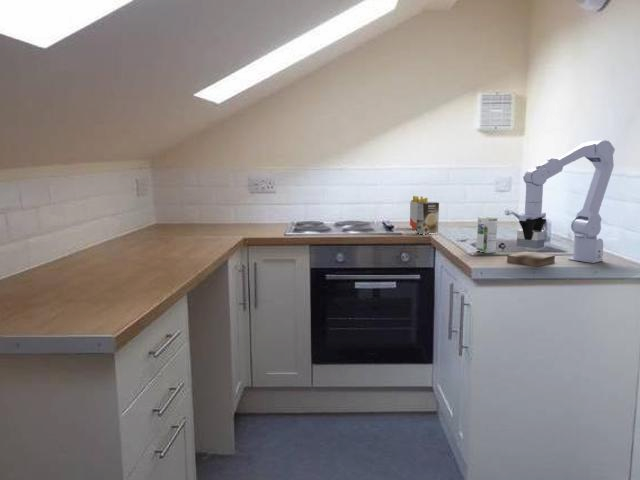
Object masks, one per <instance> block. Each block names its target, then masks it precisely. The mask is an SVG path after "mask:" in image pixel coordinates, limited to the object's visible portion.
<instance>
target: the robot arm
mask: <svg viewBox="0 0 640 480" xmlns="http://www.w3.org/2000/svg"><path fill="white" fill-rule="evenodd" d="M615 150H616V149H615V147H614V146H613V144H612V143H611V141H609V140H607V139H606V140H605V139H603V140H594V141H593V140H589V141H586V142H585V143H581V144H580V145H578V146H577V147H575V148H573V149H572V150H570V151H569V152H567V153H565V154H563V155H562V156H561V157H559V158H557V157H548V158H547V159H546V161H545V162H543V163H541V164H537V165H536V166H535V168H530V169H527V170H526V172H525V173H524V175H523V177H522V178H523V181H524V184H525V198H524V199H525V200H524V201H525V202H524V212H522V213H521V214H520V215H519V220H518V223H519V225H520V226H521V229H522V230H523V234H524V239H525V240H531V237H532V231H533V230H540V231H543V227H544V225H545V224H546V222H547V219H546V218H547V217H546V214H547V212H543V193H544V184H545V183H546V182H547V180H548V179H550V178H552V177H554V176H556V175H557V174H559V173H561V172H562V171H563V169H564V167H566V166H567V165H569V164H571V163H573V162H576V161H577V160H579V159H582V158H585V159H587V160H588V161H589V162H590V163H592V165H593V167H594V168H595V169H594V173H593V176H592V179H591V181H590V185H589V189H588V192H587V195H586V198H585V201H584V204H583V206H582V209H581V210H580V211H578V212H577V213H576V216H575V217H574V219H573V220H572V221H571V223H570V229H571V231H572V232H573V235H574V237H573V254H572V257H568V258H567V259H568V260H571V261H576V262H585V263H592V264H595V263H599V262H602V261H603V260H604V258H603V252H604V240H603V239H602V238H599V237H598V235H599V234H600V233H601V230H602V224H601V223H602V217H601V215H600V213H599V212H600V210H601V209H600V208H601V206H602V203H603V200H604V197H605V194H606V191H607V188H608V185H609V183H610V179H611V176H612V173H613V170H614V165H615V164H614V153H615Z"/></svg>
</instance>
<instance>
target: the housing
mask: <svg viewBox="0 0 640 480" xmlns="http://www.w3.org/2000/svg"><path fill="white" fill-rule="evenodd" d="M516 231H517V232H516V236H517V237H516V247H520V248H521V247H522V248H528V249H536V250H537V249H542V248H545V235H546V231H545V230H541V231H540V230H533V231H532V237H531V240H525V239H524V234H523V230H522V228H521V229H517V230H516Z"/></svg>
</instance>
